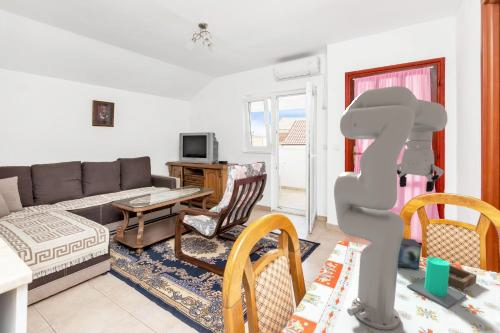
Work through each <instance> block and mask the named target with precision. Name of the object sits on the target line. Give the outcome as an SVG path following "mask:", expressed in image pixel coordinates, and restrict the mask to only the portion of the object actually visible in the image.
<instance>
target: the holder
mask: <svg viewBox="0 0 500 333" xmlns="http://www.w3.org/2000/svg"><path fill="white" fill-rule="evenodd" d="M477 276H478V275H477V274H475V273H473V272H470V271H468V270H464V269H462V268H460V267H457V266H455V265H452V264H450V269H449V278H448V285H449V286H451V287H453V288H455V289H458V290H459V291H460V290H461V291H462V292H463V291H465V290H466V289H469V287H471V286H473V285H474V284H476V282H477ZM459 278H460V279H459Z"/></svg>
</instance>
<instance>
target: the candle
mask: <svg viewBox="0 0 500 333" xmlns="http://www.w3.org/2000/svg"><path fill="white" fill-rule="evenodd" d="M450 265H451V264H450V262H449V261H446V260H444V259H442V258H440V257H439V256H438V257H432V256H427V259H426V267H425V276H424V277H425V286H424V287H425V289H426V290H427V291H428V292H430V293H432V294H434V295H438V296H445V295H446V294H447V287H449V286H448V285H449V284H448V278H449V275H450V273H449V269H450Z"/></svg>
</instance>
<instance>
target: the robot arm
mask: <svg viewBox="0 0 500 333" xmlns="http://www.w3.org/2000/svg"><path fill="white" fill-rule="evenodd" d="M447 123H448V112H447V111H446V109H445V106H443V104H441V103H439V102H434V101H428V100H424V99H418V98H417V97H416V95H415V94H414V93H413V91H412V90H411V89H409V88H408V87H406V86H402V85H401V86H399V85H394V86H387V87H386V86H385V87H379V88H373V89H372V88H371V89H367V90H364V91H363V92H361V93H360V94H359V95H358V96H356V98H354V100H353V101H352V102H351V104H350V105H348V107H347V108H346V109H345V111H344V112H343V113H342V116H341V117H340V120H339V128H340V133H341V134H342V136H343V137H345V138H346V139H350V140H374V141H373V142H372V143H370V144H369V145H368V146H367V148H366V149H364V151H363V152H362V153H361V155H360V157H359V171H358V172H356V171H355V172H354V171H345V172H342V173H340V174H339V175H338V176H337V178H336V180H335V183H334V187H333V198H334V205H335V213H336V222H337V225H338V229H339V230H340V231H341V232H342V233H344V234H347V235H350V236H353V237H355V238H359V239H363V240H365V241H368V242H370V243H369V244H368V245H366V246H365V247H364V248H362V250H361V252H360V255H359V269H358V271H359V274H358V284H357V285H358V289H357V297H355V298H353V300H352V302H351V306H350V307H349V308H347V310H346V311H347V314H348V315H349V316H350V317H352V316H355V317H356V318H357V319H358V320H359V321H361V322H362V323H364V324H366V325H367V326H369V327H372V328H374V329H378V330H385V331H386V330H387V331H388V330H389V331H390V330H394V329H396V328H398V327H399V325H400V319H401V318H400V317H401V316H400V314H399V312H398V311H397V310H396V309H395V302H396V301H395V300H396V292H397V291H396V289H397V278H398V268H397V267H398V257H399V250H400V246H401V242H402V238H403V237H404V236H405V235H404V233H405V229H406V224H405V220H404V218H403V217H402V216H401V215H399V214H398V213H396V212H394V211H391V210H393V208H394V207H395V206H396V205H397V200H398V178H399V187H400V188H406V186H407V179H408V178H407V175H412V176H413V175H414V176H422V177H424V176H425V178H426V179H427V181H426V185H425V186H426V187H425V192H426V193H429V192H430V193H431V192H433V190H434V189H435V182H436V181H437V180H438V179H440V178H441V176H443V174H444V173H445V170H443V169H441V168H440V167H438V166H436V165H435V153H434V149H432V144H433V143H432V142H433V132H441V131H443V130H444V129H445V128H446V126H447ZM405 146H406V147H407V148H404V147H405ZM403 148H404V150H403ZM402 150H403V153H402V157H401V162H400V163H398V160H399V157H400V154H401V152H402ZM434 172H436V174H435V175H434Z"/></svg>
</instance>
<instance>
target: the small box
mask: <svg viewBox="0 0 500 333" xmlns="http://www.w3.org/2000/svg"><path fill="white" fill-rule="evenodd" d="M421 251H422V245H421V244H420V243H419V242H418V241H417V240H416V239H412V238H402V242H401V246H400V250H399V257H398V267H397V269H405V270H406V269H407V270H411V271H412V270H414V271H419V269H420V261H421V253H422V252H421Z"/></svg>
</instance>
